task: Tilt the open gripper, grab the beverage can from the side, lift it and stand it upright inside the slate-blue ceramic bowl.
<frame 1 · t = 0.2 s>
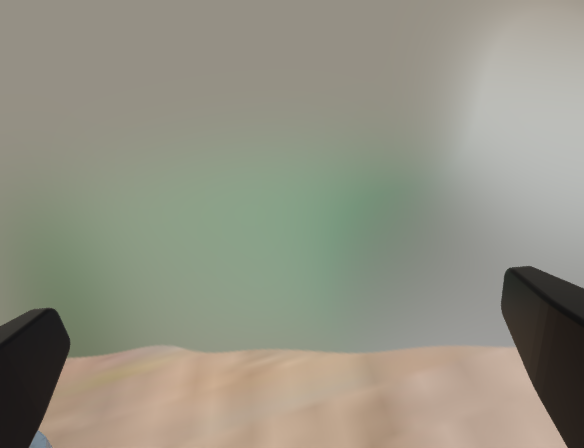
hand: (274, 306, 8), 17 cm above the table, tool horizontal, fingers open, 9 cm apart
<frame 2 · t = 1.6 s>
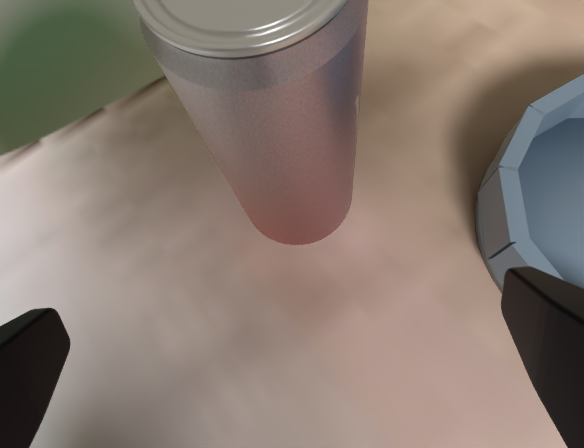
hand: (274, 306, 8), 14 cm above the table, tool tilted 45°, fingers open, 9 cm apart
beverage can: (299, 199, 24), on the table
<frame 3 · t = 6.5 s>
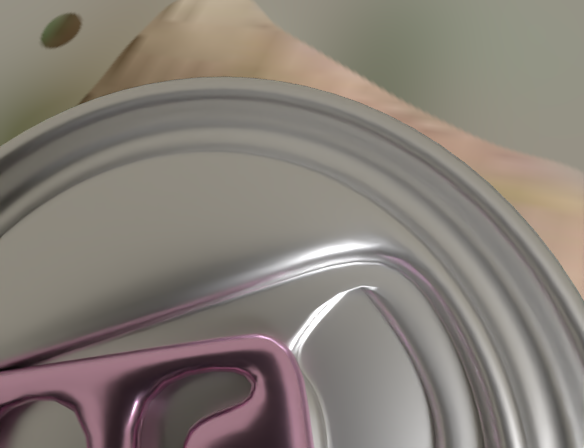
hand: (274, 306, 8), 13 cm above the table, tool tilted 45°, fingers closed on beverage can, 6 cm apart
beverage can: (314, 357, 17), point 4 cm above the table, touching gripper
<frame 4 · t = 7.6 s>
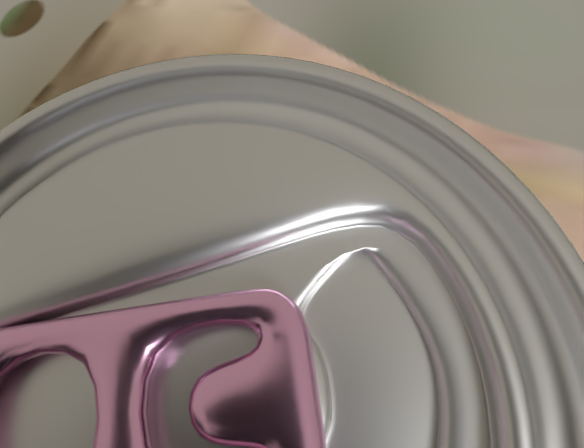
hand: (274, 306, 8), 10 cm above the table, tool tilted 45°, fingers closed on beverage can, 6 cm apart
beverage can: (312, 375, 17), point 1 cm above the table, touching bowl, gripper
when the fingers open (10 cm above the table, at t = 7.8 s): beverage can stays where it is, resting on bowl.
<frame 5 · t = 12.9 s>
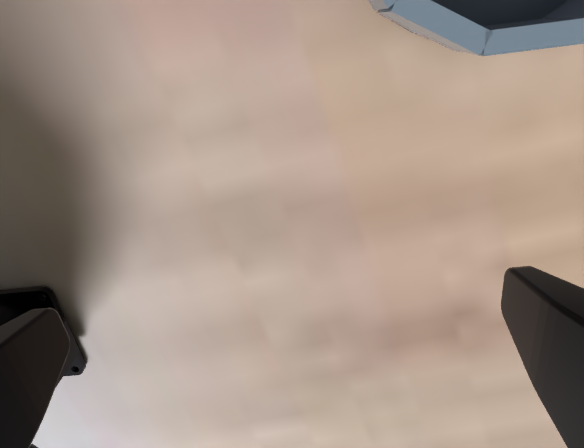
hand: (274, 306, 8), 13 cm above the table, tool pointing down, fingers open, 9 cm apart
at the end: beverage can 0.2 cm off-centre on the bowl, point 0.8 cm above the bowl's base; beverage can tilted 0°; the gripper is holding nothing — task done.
